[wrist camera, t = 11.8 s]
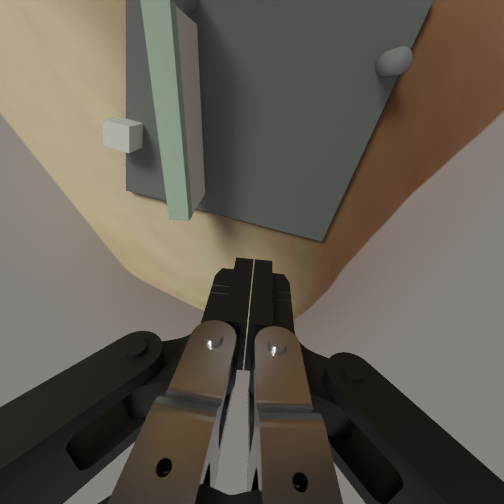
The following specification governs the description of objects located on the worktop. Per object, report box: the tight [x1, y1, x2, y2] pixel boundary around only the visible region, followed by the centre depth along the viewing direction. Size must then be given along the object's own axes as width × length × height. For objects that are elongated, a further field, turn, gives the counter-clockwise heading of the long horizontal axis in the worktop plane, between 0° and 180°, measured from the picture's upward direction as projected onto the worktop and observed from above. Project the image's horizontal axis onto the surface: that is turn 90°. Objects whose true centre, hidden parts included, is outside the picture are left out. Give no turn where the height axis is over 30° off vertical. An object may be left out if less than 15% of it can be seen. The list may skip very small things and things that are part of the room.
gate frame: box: [103, 0, 433, 242], centre depth 22 cm, size 25×23×10 cm
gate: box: [140, 0, 205, 221], centre depth 23 cm, size 15×2×7 cm, turn 177°
